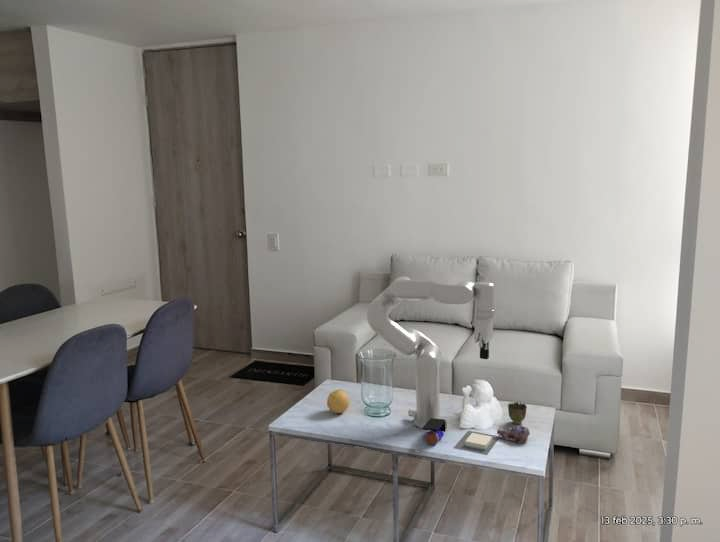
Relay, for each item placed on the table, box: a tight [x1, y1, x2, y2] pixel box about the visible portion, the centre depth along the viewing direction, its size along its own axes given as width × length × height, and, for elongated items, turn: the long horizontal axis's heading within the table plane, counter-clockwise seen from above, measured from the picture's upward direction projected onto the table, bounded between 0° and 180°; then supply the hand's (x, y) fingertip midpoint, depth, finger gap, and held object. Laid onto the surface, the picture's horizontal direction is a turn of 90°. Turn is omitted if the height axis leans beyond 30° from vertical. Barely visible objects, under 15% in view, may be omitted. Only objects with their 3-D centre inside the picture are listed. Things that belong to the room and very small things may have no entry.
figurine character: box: [421, 418, 448, 446], centre depth 230 cm, size 7×8×15 cm
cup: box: [507, 401, 527, 426], centre depth 241 cm, size 8×7×8 cm
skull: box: [496, 425, 531, 444], centre depth 227 cm, size 12×8×6 cm, turn 60°
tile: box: [465, 433, 492, 450], centre depth 224 cm, size 8×2×8 cm
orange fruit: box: [326, 389, 351, 414], centre depth 258 cm, size 10×10×10 cm
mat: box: [453, 430, 501, 456], centre depth 225 cm, size 13×17×1 cm
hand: (484, 358), depth 235 cm, fingers closed
